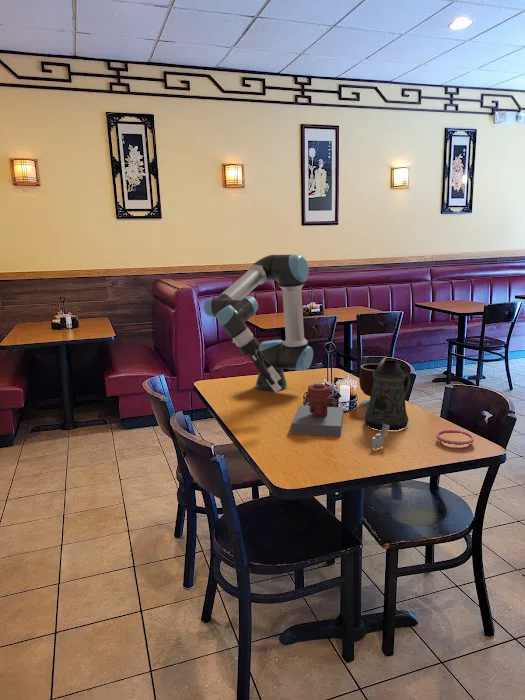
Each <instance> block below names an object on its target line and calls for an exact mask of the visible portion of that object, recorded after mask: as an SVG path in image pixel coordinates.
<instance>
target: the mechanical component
mask: <svg viewBox="0 0 525 700" xmlns="http://www.w3.org/2000/svg"><path fill="white" fill-rule="evenodd" d="M305 400H307V401H308V402H309V406H310V410H309V411H310V412H311V413H313V417H315V418H316V417H320V416H327V412H328V410H327V408H328V407H329V405H328V404H329V402H331V401H332V400H333V395H332V393H331V386H329V385H326V384H324V383H320V382H317V383H314V384H311V385H310V384H309V385H308V386H307V393H306V394H305Z"/></svg>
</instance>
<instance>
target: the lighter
mask: <svg viewBox="0 0 525 700" xmlns="http://www.w3.org/2000/svg"><path fill="white" fill-rule="evenodd" d="M389 427H390V426H389V425H386V424H383V427H382V430H381V432H379V433H376V434H374V435H375V436H373V437H371V449H372V448H374V449H377V448H380V447H382V446H383V447H384V437H385V438H386V437H387V435H388V433H389V432H388V430H389Z"/></svg>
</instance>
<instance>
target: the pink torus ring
mask: <svg viewBox="0 0 525 700" xmlns="http://www.w3.org/2000/svg"><path fill="white" fill-rule="evenodd" d="M444 433H462V434H465V435H467V436H469V437H470V438H471V440H469V441H451V440H446V439H443V438H441V437H440V435H441V434H444ZM435 436H436V439H437V441H439V440H440V441H442V442H444V443H448V444H455V445H462V444H463V445H464V444H469V443H471V444H473V442H474V441H475V437H474V436H473V434H471V433H469V432H467V431H464V430H463V431H462V430H457V429H443V430H439V431H437V432H436V434H435ZM440 441H439V442H440Z"/></svg>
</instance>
